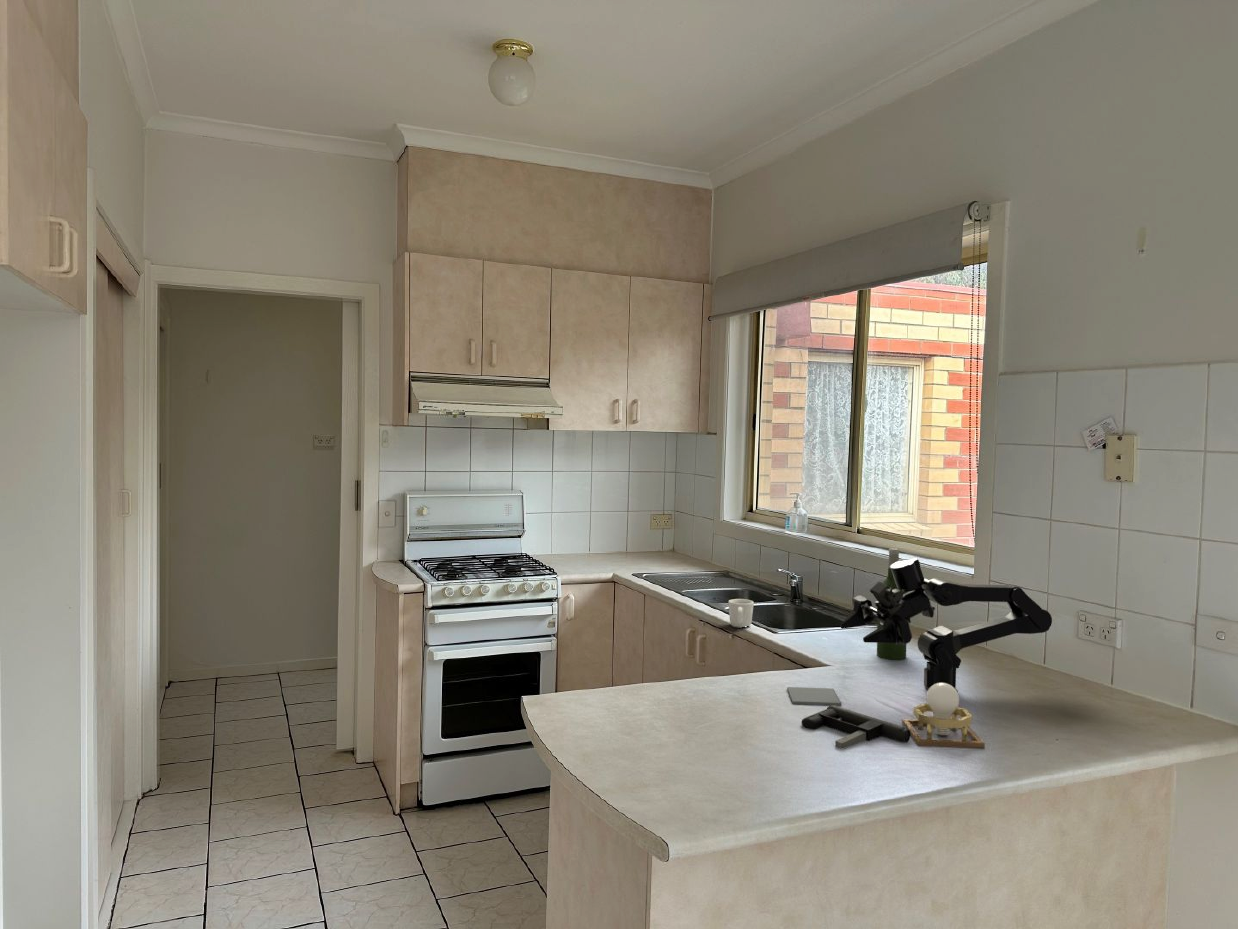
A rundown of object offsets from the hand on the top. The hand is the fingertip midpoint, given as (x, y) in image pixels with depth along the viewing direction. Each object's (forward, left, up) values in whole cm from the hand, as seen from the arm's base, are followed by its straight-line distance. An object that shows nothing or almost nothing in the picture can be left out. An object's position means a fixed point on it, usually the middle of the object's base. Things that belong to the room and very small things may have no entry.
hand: (852, 633), depth 208 cm
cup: (+22, -68, -15) cm, 73 cm away
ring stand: (-14, +25, -15) cm, 32 cm away
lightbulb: (-14, +25, -15) cm, 33 cm away
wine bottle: (-18, -38, -15) cm, 45 cm away
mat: (+9, +2, -15) cm, 18 cm away
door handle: (+5, +27, -16) cm, 31 cm away
